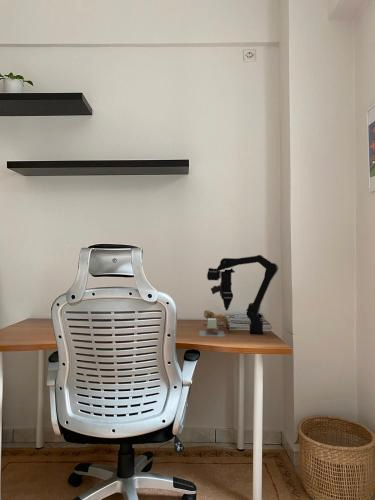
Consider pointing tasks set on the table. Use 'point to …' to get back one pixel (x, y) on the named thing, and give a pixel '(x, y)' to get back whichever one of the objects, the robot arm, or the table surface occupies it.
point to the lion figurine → (214, 316)
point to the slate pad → (220, 333)
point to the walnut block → (211, 331)
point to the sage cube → (212, 323)
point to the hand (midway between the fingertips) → (226, 309)
